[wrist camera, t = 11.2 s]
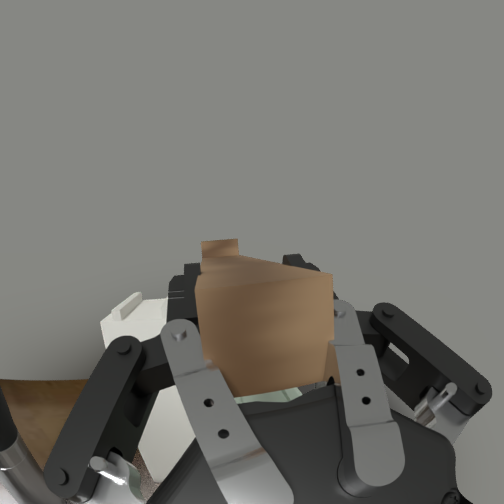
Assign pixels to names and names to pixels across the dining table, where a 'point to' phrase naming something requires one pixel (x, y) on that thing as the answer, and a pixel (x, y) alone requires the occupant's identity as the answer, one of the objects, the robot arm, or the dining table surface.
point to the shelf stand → (168, 400)
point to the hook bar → (262, 320)
